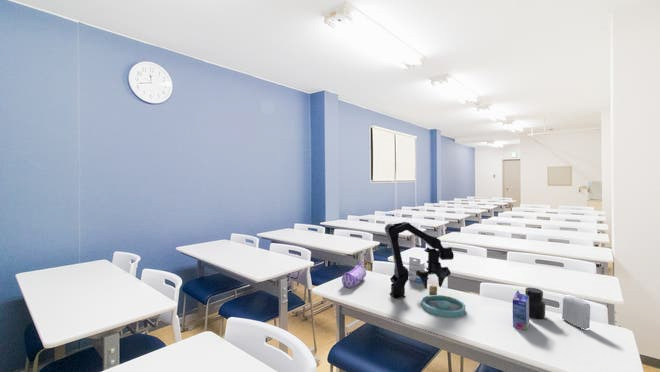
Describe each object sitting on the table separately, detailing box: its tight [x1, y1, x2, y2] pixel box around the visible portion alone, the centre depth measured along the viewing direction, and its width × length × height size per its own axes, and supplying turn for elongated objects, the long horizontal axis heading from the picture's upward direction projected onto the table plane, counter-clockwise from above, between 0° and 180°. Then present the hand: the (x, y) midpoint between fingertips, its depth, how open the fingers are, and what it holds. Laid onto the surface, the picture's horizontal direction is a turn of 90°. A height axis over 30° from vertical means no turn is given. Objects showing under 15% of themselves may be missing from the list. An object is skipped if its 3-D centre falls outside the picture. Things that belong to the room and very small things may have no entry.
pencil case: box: [341, 263, 367, 289], centre depth 183 cm, size 22×9×10 cm, turn 156°
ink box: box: [408, 256, 425, 284], centre depth 187 cm, size 8×5×15 cm, turn 39°
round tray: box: [421, 294, 466, 318], centre depth 148 cm, size 20×20×2 cm
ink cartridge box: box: [512, 289, 530, 331], centre depth 132 cm, size 10×6×14 cm, turn 141°
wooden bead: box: [428, 284, 438, 296], centre depth 165 cm, size 4×4×4 cm
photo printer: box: [561, 294, 591, 330], centre depth 132 cm, size 10×4×12 cm, turn 11°
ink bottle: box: [524, 287, 546, 320], centre depth 141 cm, size 10×9×12 cm
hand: (433, 287), depth 165 cm, fingers open, 9 cm apart
